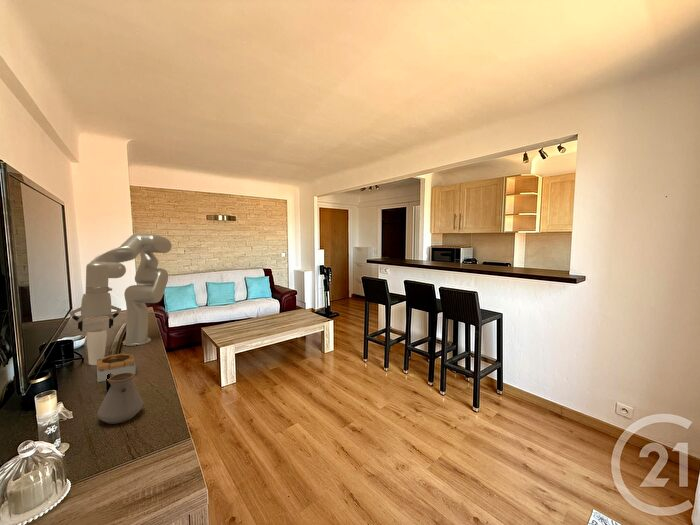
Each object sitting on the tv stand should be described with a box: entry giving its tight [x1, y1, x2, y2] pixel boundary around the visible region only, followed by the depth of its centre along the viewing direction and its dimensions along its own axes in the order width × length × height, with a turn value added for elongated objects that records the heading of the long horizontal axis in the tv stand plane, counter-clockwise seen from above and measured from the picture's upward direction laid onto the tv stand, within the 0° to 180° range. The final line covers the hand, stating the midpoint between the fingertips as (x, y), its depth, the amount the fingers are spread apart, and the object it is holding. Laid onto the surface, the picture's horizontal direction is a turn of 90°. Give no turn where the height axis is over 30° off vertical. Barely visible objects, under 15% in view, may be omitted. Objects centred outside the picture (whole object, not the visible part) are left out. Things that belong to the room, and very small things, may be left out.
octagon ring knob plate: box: [96, 353, 137, 383], centre depth 123 cm, size 16×12×6 cm
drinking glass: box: [86, 328, 108, 366], centre depth 130 cm, size 7×7×15 cm
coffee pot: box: [96, 373, 144, 425], centre depth 88 cm, size 21×12×15 cm, turn 40°
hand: (95, 329), depth 129 cm, fingers open, 9 cm apart
